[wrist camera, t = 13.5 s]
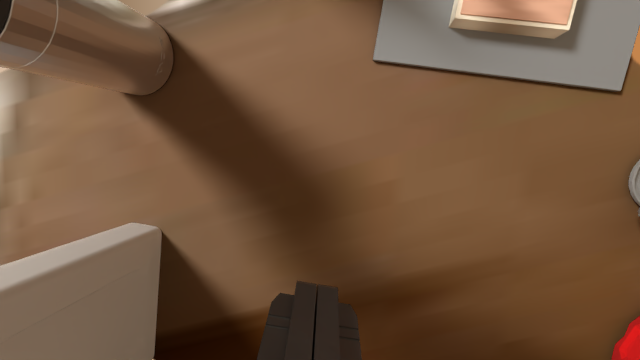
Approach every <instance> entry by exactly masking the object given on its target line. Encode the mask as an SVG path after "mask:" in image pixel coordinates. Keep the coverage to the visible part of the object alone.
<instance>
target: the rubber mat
mask: <svg viewBox="0 0 640 360" xmlns="http://www.w3.org/2000/svg"><path fill="white" fill-rule="evenodd" d="M453 4H454V0H383V6H382V12H381V17H380V23H379V29H378V34H377V40H376V45H375V51H374V57H373V61H378V62H386V63H394V64H402V65H410V66H417V67H425V68H433V69H441V70H449V71H457V72H465V73H473V74H481V75H488V76H496V77H504V78H512V79H520V80H528V81H536V82H544V83H551V84H559V85H567V86H575V87H583V88H591V89H599V90H607V91H614V92H617V91H621V88H622V85H623V82H624V78H625V75H626V71H627V68H628V64H629V61H630V57H631V54H632V50H633V47H634V43H635V40H636V36H637V33H638V29H639V26H640V0H577V2H576V6H575V10H574V14H573V18H572V22H571V25H570V29H569V31H567V32H565V33H563V34H562V35H560V36H558V37H556V38H555V39H551V38H541V37H532V36H523V35H514V34H505V33H496V32H486V31H477V30H468V29H459V28H450V27H449V23H450V18H451V13H452V9H453Z"/></svg>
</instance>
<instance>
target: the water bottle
mask: <svg viewBox="0 0 640 360" xmlns="http://www.w3.org/2000/svg"><path fill="white" fill-rule="evenodd" d="M611 359H612V360H640V316H639V317H637V318H636V319H635V320H634V321H632V322H631V323H630V324H629V326H628V329H627V331H626V333H625V336H624V337H623V338H622V339H620V340H619V341H618V342H617V343H616V344H615V347H614V351H613V355H612V358H611Z"/></svg>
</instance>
